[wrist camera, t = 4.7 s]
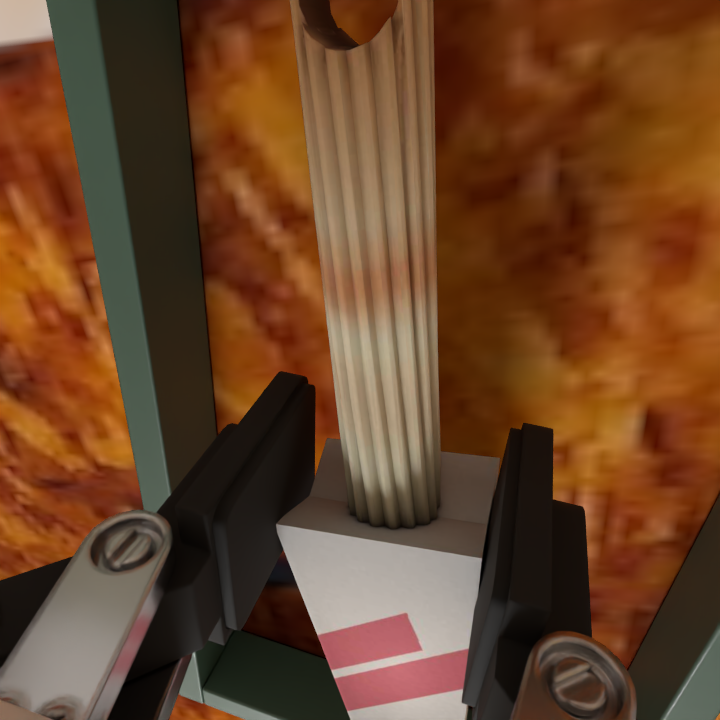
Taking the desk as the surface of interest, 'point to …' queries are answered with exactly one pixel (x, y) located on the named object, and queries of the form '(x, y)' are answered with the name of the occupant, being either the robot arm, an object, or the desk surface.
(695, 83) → the desk surface
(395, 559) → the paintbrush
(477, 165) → the desk surface
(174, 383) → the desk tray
